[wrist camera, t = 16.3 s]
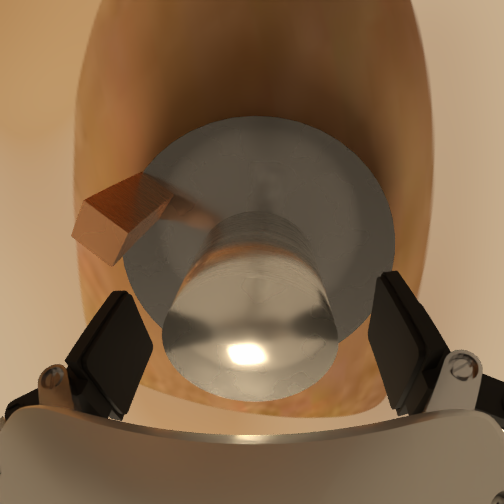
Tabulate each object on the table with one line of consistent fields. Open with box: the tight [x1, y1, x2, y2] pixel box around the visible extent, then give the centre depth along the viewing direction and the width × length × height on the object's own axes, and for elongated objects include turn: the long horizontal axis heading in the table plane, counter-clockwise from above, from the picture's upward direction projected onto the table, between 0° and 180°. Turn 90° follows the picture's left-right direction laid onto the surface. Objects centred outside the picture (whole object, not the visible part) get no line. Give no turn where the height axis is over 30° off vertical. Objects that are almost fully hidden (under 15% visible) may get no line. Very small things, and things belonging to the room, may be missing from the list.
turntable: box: [71, 116, 395, 343], centre depth 13 cm, size 15×15×7 cm
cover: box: [162, 211, 338, 402], centre depth 12 cm, size 6×6×6 cm
